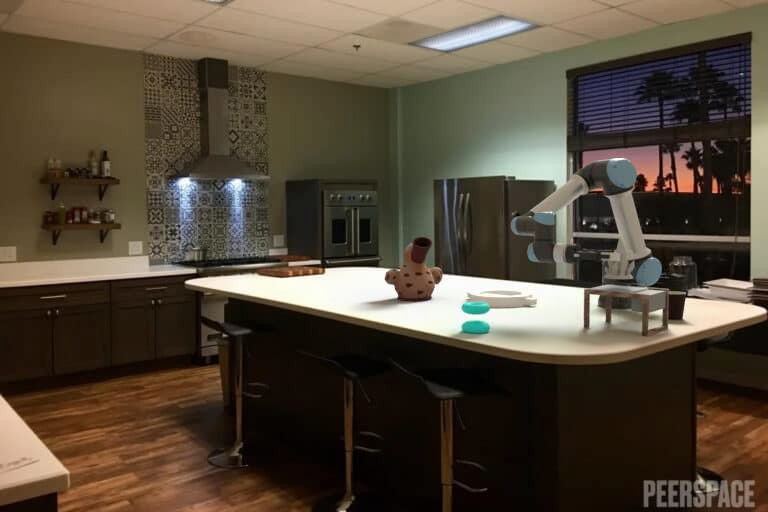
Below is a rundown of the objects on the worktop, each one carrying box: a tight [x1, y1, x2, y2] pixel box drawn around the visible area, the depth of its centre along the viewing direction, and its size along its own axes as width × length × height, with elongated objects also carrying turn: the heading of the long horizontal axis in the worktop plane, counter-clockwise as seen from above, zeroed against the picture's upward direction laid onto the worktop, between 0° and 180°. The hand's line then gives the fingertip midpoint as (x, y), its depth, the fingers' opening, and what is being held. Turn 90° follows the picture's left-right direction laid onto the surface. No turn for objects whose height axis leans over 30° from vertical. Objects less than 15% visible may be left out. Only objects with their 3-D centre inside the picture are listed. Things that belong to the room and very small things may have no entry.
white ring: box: [466, 288, 538, 308], centre depth 297 cm, size 28×28×5 cm
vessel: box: [384, 236, 444, 302], centre depth 309 cm, size 29×22×30 cm
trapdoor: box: [588, 285, 665, 314], centre depth 231 cm, size 22×15×7 cm
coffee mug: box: [668, 290, 687, 321], centre depth 251 cm, size 12×9×10 cm
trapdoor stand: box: [583, 284, 670, 337], centre depth 231 cm, size 23×19×14 cm
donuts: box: [460, 301, 491, 334], centre depth 229 cm, size 10×10×10 cm
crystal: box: [604, 236, 634, 279], centre depth 232 cm, size 10×13×15 cm
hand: (626, 255), depth 230 cm, fingers closed on crystal, 12 cm apart
